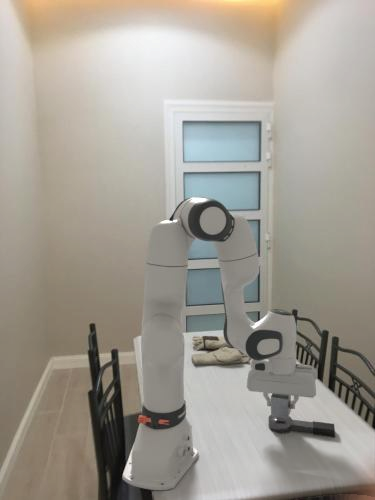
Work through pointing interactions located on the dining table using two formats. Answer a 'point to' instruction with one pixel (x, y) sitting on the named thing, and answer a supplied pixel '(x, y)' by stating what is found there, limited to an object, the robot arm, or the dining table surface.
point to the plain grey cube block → (280, 405)
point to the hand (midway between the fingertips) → (280, 406)
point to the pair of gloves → (218, 356)
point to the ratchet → (300, 426)
